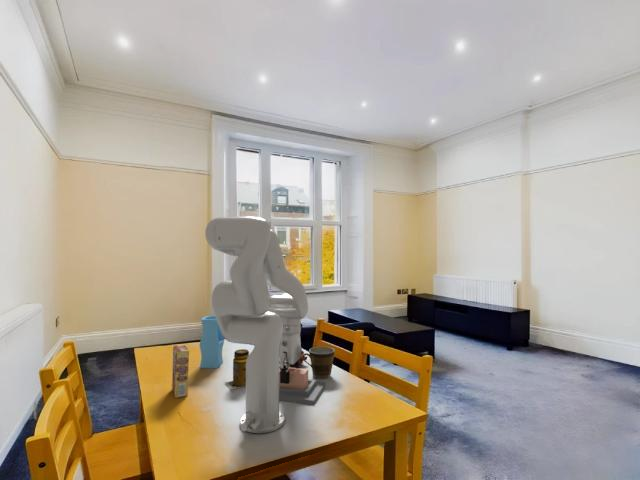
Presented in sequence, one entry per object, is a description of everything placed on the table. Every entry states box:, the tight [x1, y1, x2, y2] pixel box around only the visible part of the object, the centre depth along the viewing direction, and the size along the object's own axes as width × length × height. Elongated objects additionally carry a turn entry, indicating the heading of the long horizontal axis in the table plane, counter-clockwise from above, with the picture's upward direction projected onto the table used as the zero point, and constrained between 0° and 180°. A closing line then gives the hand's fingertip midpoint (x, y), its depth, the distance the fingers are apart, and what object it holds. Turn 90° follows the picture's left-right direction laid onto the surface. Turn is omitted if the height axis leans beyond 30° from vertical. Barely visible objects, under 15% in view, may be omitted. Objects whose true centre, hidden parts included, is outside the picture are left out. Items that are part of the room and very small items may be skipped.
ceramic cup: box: [302, 346, 335, 380], centre depth 138 cm, size 13×10×10 cm
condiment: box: [224, 348, 250, 391], centre depth 130 cm, size 7×8×12 cm
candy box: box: [171, 344, 190, 399], centre depth 122 cm, size 9×4×15 cm, turn 29°
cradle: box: [279, 378, 327, 405], centre depth 124 cm, size 16×22×4 cm
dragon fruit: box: [285, 347, 308, 365], centre depth 151 cm, size 8×8×12 cm
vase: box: [199, 315, 225, 369], centre depth 151 cm, size 8×8×20 cm
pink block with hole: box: [279, 366, 309, 390], centre depth 123 cm, size 12×5×6 cm, turn 76°
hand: (289, 377), depth 124 cm, fingers open, 9 cm apart
